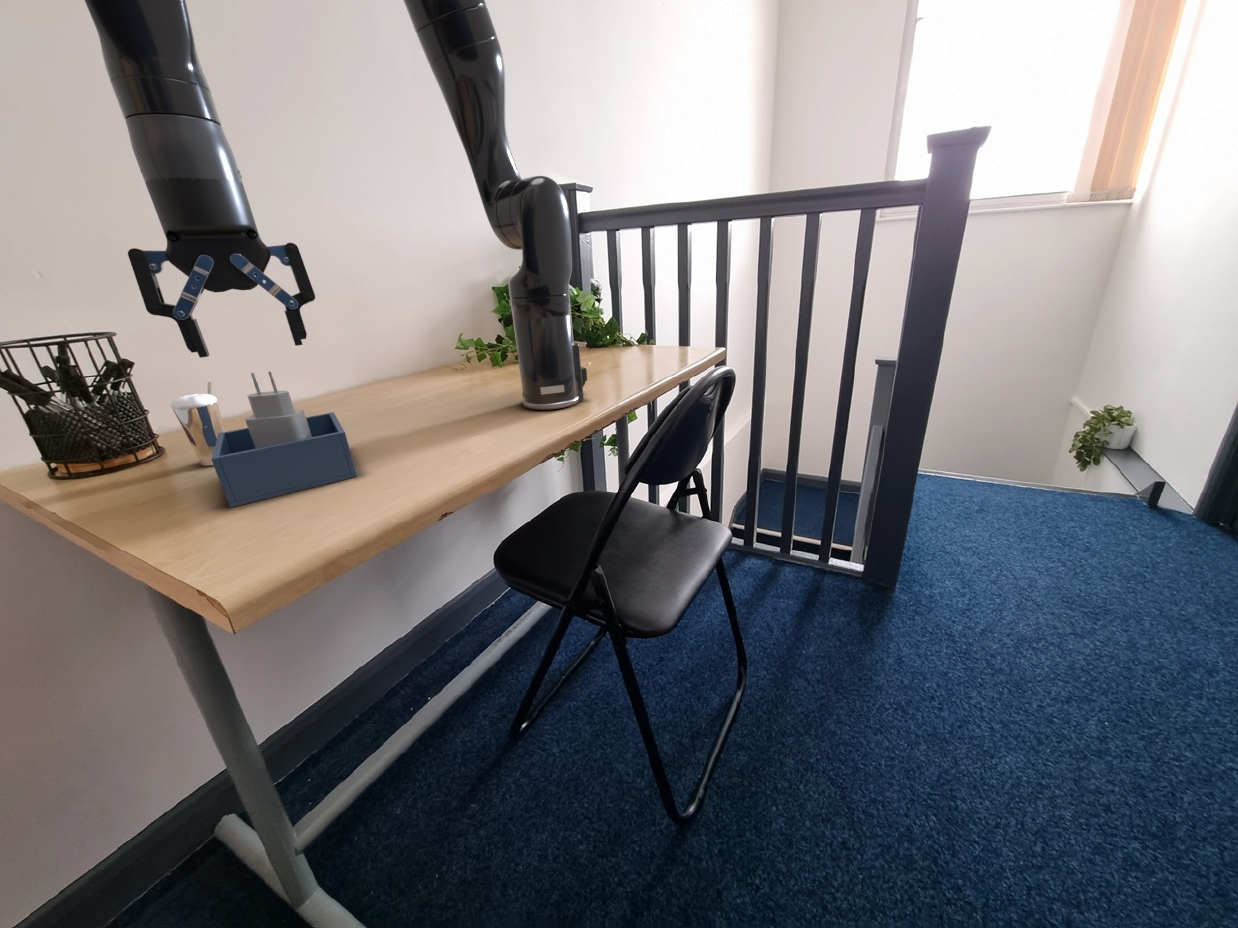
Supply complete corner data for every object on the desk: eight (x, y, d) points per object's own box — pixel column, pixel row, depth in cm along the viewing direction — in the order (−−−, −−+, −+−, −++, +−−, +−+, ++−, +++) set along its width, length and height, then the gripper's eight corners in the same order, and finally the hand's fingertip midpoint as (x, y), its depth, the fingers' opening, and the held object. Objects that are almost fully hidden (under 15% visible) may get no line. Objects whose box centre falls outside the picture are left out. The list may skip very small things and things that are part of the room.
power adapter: (311, 475, 58) (278, 373, 53) (263, 479, 57) (226, 377, 53) (323, 465, 61) (293, 367, 56) (277, 469, 60) (243, 371, 56)
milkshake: (251, 452, 68) (225, 381, 65) (218, 467, 63) (188, 391, 60) (221, 453, 69) (194, 382, 65) (186, 468, 64) (154, 392, 60)
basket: (344, 451, 67) (333, 412, 65) (357, 476, 58) (345, 432, 56) (234, 475, 61) (218, 433, 58) (230, 507, 52) (211, 459, 50)
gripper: (82, 171, 41) (164, 366, 47) (282, 175, 48) (330, 344, 54) (104, 185, 47) (175, 356, 53) (280, 186, 54) (324, 338, 60)
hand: (253, 350), depth 54 cm, fingers open, 8 cm apart
